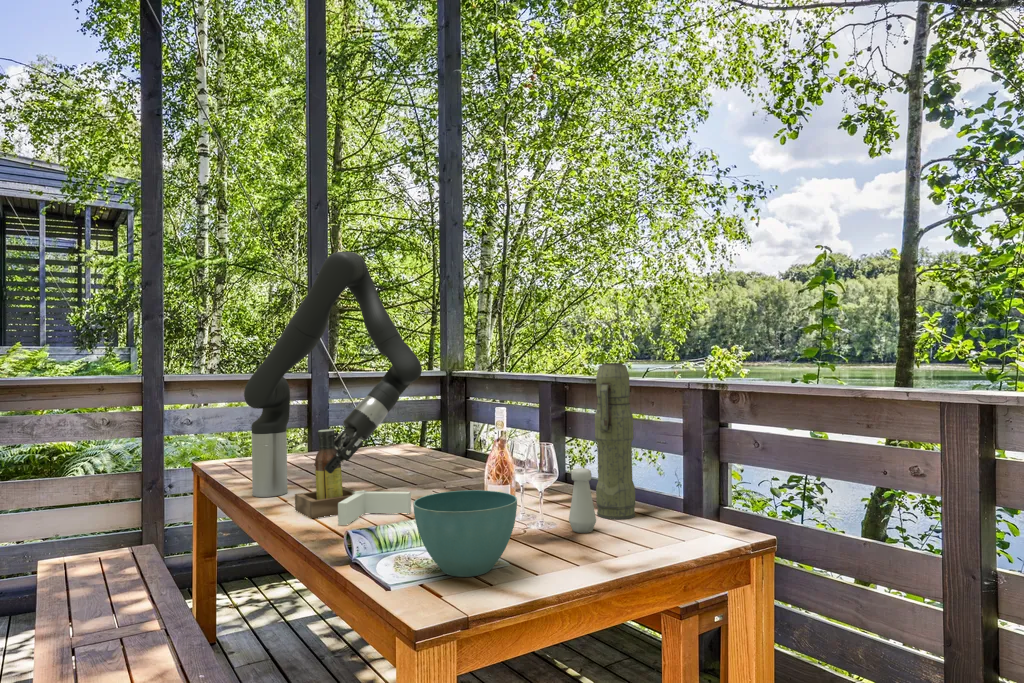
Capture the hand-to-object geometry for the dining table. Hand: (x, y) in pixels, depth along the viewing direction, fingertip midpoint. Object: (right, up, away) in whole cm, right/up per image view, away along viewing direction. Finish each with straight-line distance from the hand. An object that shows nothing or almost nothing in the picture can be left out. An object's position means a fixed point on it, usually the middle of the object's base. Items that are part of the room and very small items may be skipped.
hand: (322, 469), depth 167 cm
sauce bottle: (+2, -11, +1) cm, 11 cm away
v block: (+13, -10, -6) cm, 17 cm away
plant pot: (+39, -9, -48) cm, 62 cm away
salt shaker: (+62, -9, -23) cm, 66 cm away
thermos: (+71, -9, -10) cm, 72 cm away
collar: (+2, -10, +1) cm, 10 cm away
